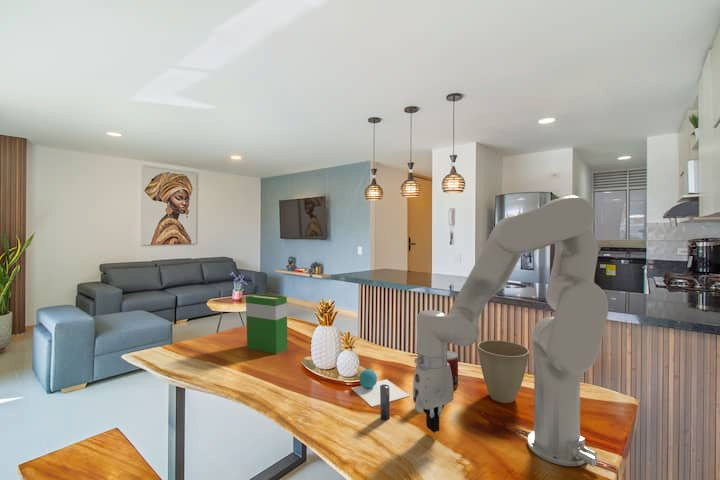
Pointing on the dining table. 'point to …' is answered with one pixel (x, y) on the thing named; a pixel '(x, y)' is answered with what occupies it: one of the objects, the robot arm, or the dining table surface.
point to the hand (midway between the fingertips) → (432, 429)
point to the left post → (384, 402)
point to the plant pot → (503, 368)
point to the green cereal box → (267, 323)
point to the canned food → (453, 367)
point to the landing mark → (374, 393)
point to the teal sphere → (368, 378)
